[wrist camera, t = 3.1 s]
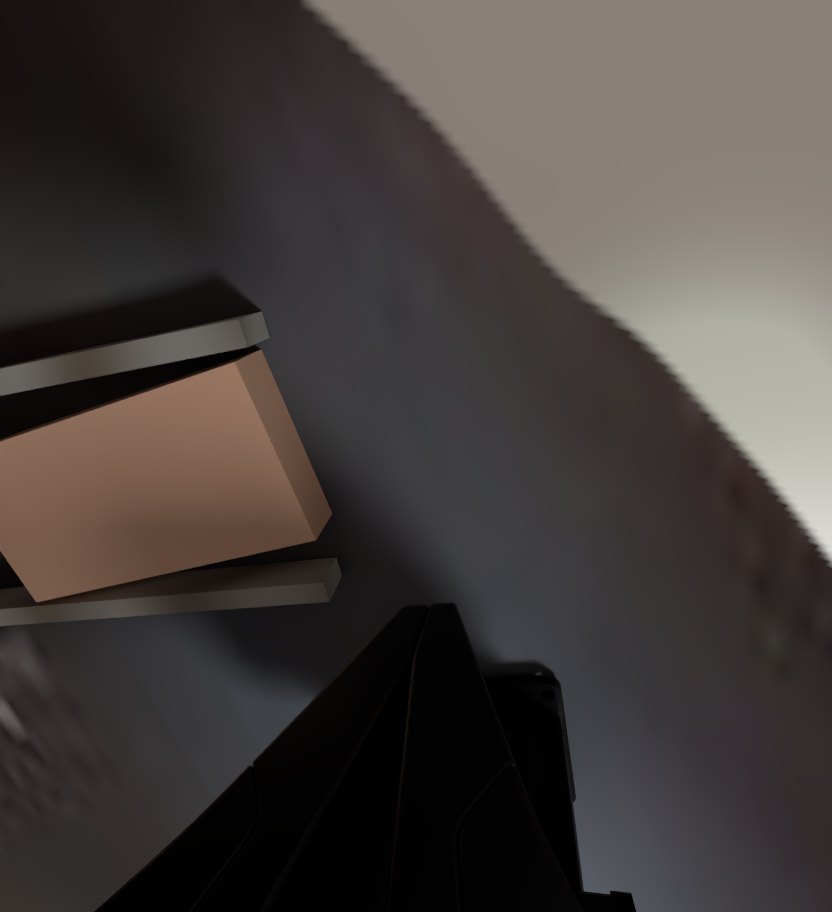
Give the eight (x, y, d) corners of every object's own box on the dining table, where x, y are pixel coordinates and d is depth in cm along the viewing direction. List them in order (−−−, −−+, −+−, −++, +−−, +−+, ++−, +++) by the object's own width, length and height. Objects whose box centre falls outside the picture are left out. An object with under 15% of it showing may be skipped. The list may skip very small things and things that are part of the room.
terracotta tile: (267, 346, 17) (234, 362, 15) (336, 507, 18) (316, 540, 16) (-5, 439, 20) (-62, 462, 18) (79, 568, 22) (36, 602, 20)
